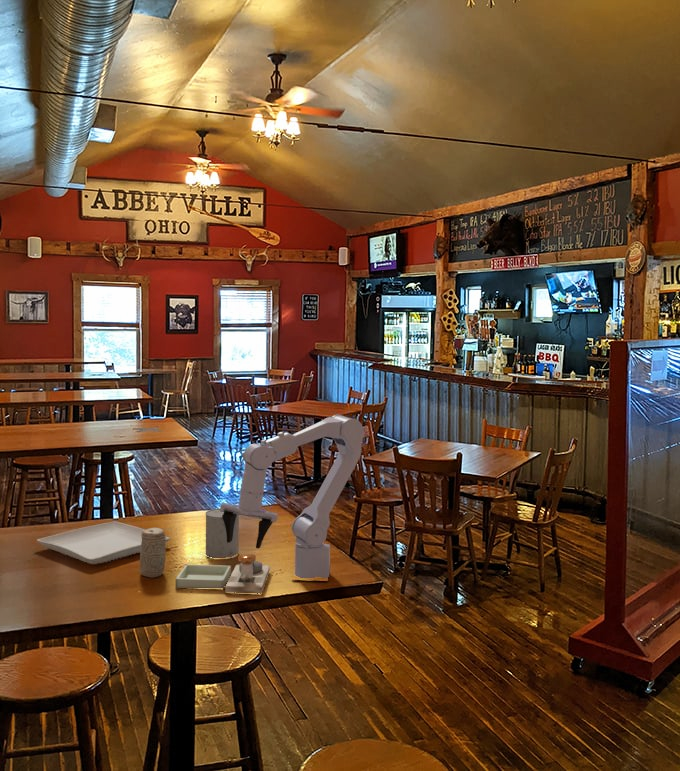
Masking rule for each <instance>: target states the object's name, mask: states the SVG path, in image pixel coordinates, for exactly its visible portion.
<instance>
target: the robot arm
mask: <svg viewBox="0 0 680 771" xmlns="http://www.w3.org/2000/svg"><path fill="white" fill-rule="evenodd" d="M365 435H366V433H365V430H364V426H363V424H362V423H361V422H360V421H359V420H358V419H356V418H351V417H348V416H344V415H342V414H334V415H333V416H331V417H330V416H329V417H326V418H324V419H323V420H320V421H319V422H316V423H314V424H312V425H310V426H308V427H305V428H304V429H302V430H299V431H297V432H295V433H293V434H291V433H289V432H284V431H280V432H278V433H277V435H276V436H274V437H272V438H269V439H262V440H260V444H259V443H252V444H250V445H248V446H247V448H245V450H244V452H242V460H243V461H244V469H243V472H242V473H243V474H242V478H241V486H240V495H239V500H238V504H232V503H224V502H223V503H220V508H219V509H220V512H224V514H223V515H222V518H223V521H224V524H225V528H226V534H227V542H228V543H230V542H231V541H232V538H233V530H234V524H235V520H236V516H237V514H238V515H239V516H244V517H248V518H254V519H259V521H258V533H257V539H256V543H255V548H256V549H260V548H261V546H262V543H263V541H264V538H265V536H266V535H267V532H268V531H269V529H270V527H272V525H273V523H276V522H277V521H278V515H279V514H278V513H276V512H272V511H268V510H265V509H262V504H263V496H264V490H265V485H266V478H267V471H268V468H270V467H271V465H272V463H274V462H276V461H279V460H281V459H284V458H286V457H288V456H290V455H292V454H295V453H296V451H297V450H298V448H299V447H301V446H303V445H306V444H308V443H310V442H314V441H317V440H320V439H322V438H324V437H325V438H332V440H334V442H335V445H336V447H337V450H338V454H337V457H336V458H335V460H334V462H333V464H332V466H331V468H330V469H329V471H328V472H327V475H326V477H325V478H324V480H323V482H322V484H321V486H320V487H319V490H318V492H316V495H315V497H314V499H313V500H312V503H311V504H310V505H309V506H307V507H305V508H304V509H302V512H301V513H300V515H298V516H297V517H296V518H294V520H293V521H292V524H291V532H292V533H293V535H294V536H295V541H294V543H295V544H294V547H295V548H294V555H295V556H294V570H295V575H296V576H298V577H300V578H315V577H322V578H327V577H329V578H330V573H331V570H332V569H331V568H332V566H331V565H330V562H331V561H330V560H331V559H330V558H331V544H327V543H325V541H326V539H327V536H328V529H329V527H330V525H331V520H330V513H331V512H332V510H333V508H334V506H335V505H336V503H337V500H338V498H339V497H340V495H341V493H342V491H343V490H344V488H345V486H346V484H347V482H348V480H349V479H350V477H351V475H352V474H353V471H354V469H355V468H356V466H357V464H358V462H359V460H360V458H361V454H362V446H363V438H364V437H365ZM329 572H330V573H329Z"/></svg>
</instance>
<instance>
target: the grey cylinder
mask: <svg viewBox="0 0 680 771" xmlns="http://www.w3.org/2000/svg"><path fill="white" fill-rule="evenodd" d="M223 514H224V512H220V508H212V509H209V510H207V511H205V554H206V555H207V556H209V557H212V558H226V557H232V556H234V555H236V554H238V552H239V551H240V550H239V549H240V548H239V547H240V546H239V545H240V544H239V543H240V542H239V537H240V536H239V533H240V531H239V530H240V525H239V524H240V515H238V514H237V516H236V520H235V524H234V530H233V538H232V541H231V542H230V543H228V542H227V534H226V528H225V524H224V521H223V518H222V515H223Z"/></svg>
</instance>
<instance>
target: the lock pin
mask: <svg viewBox="0 0 680 771" xmlns="http://www.w3.org/2000/svg"><path fill="white" fill-rule="evenodd" d="M256 559H257V556H256V555H255V554H253V553H242V554H239V555H238V556H237V560H238V562H240V563H241V582H248V583H253V561H256Z"/></svg>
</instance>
